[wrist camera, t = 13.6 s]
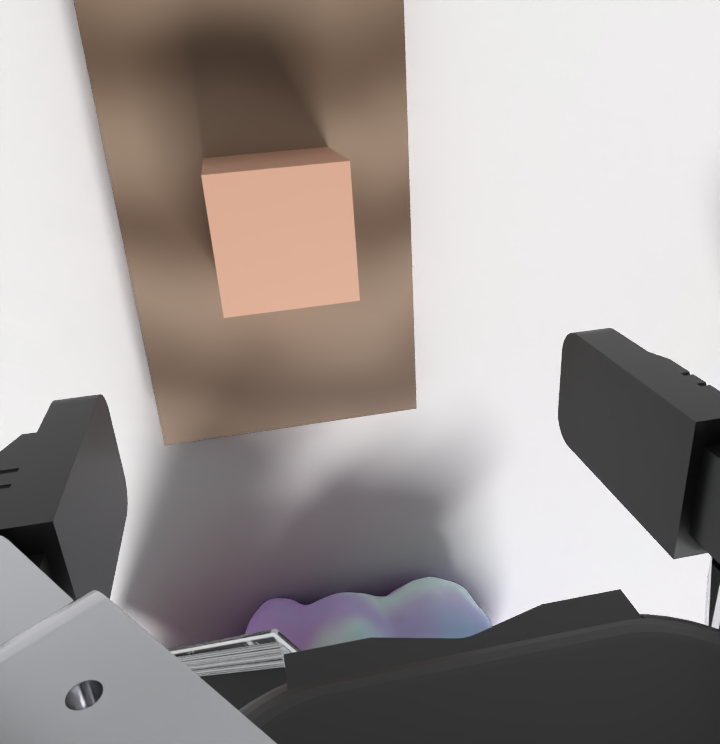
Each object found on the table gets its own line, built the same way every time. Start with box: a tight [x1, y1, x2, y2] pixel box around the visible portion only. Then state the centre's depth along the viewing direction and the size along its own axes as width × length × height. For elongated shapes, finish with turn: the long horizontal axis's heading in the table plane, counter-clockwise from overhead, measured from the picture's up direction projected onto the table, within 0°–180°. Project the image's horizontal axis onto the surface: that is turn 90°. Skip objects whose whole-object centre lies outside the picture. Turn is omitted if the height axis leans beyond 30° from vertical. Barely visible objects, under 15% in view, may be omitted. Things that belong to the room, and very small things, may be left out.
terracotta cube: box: [201, 147, 360, 318], centre depth 26 cm, size 5×5×5 cm
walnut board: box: [74, 0, 416, 445], centre depth 29 cm, size 20×12×2 cm, turn 4°
